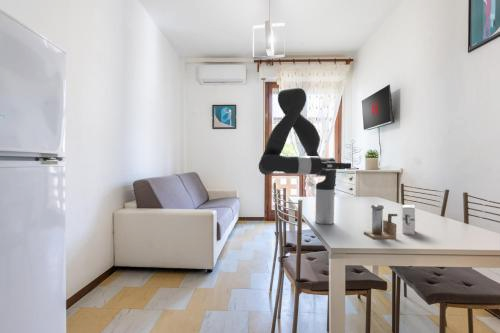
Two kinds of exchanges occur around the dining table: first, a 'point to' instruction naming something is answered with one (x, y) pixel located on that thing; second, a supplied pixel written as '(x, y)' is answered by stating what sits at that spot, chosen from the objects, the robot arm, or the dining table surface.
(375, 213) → the steel pin
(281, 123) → the robot arm
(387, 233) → the block
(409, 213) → the ink box
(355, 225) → the dining table surface
